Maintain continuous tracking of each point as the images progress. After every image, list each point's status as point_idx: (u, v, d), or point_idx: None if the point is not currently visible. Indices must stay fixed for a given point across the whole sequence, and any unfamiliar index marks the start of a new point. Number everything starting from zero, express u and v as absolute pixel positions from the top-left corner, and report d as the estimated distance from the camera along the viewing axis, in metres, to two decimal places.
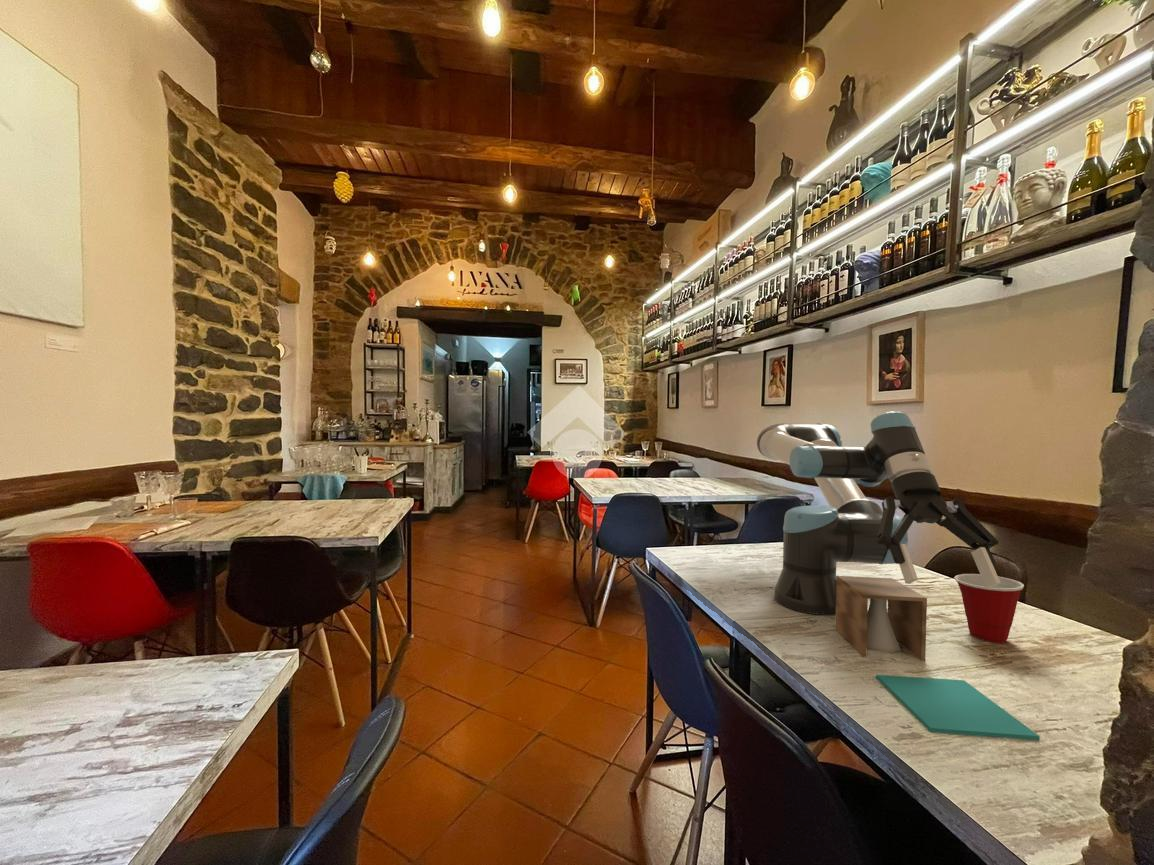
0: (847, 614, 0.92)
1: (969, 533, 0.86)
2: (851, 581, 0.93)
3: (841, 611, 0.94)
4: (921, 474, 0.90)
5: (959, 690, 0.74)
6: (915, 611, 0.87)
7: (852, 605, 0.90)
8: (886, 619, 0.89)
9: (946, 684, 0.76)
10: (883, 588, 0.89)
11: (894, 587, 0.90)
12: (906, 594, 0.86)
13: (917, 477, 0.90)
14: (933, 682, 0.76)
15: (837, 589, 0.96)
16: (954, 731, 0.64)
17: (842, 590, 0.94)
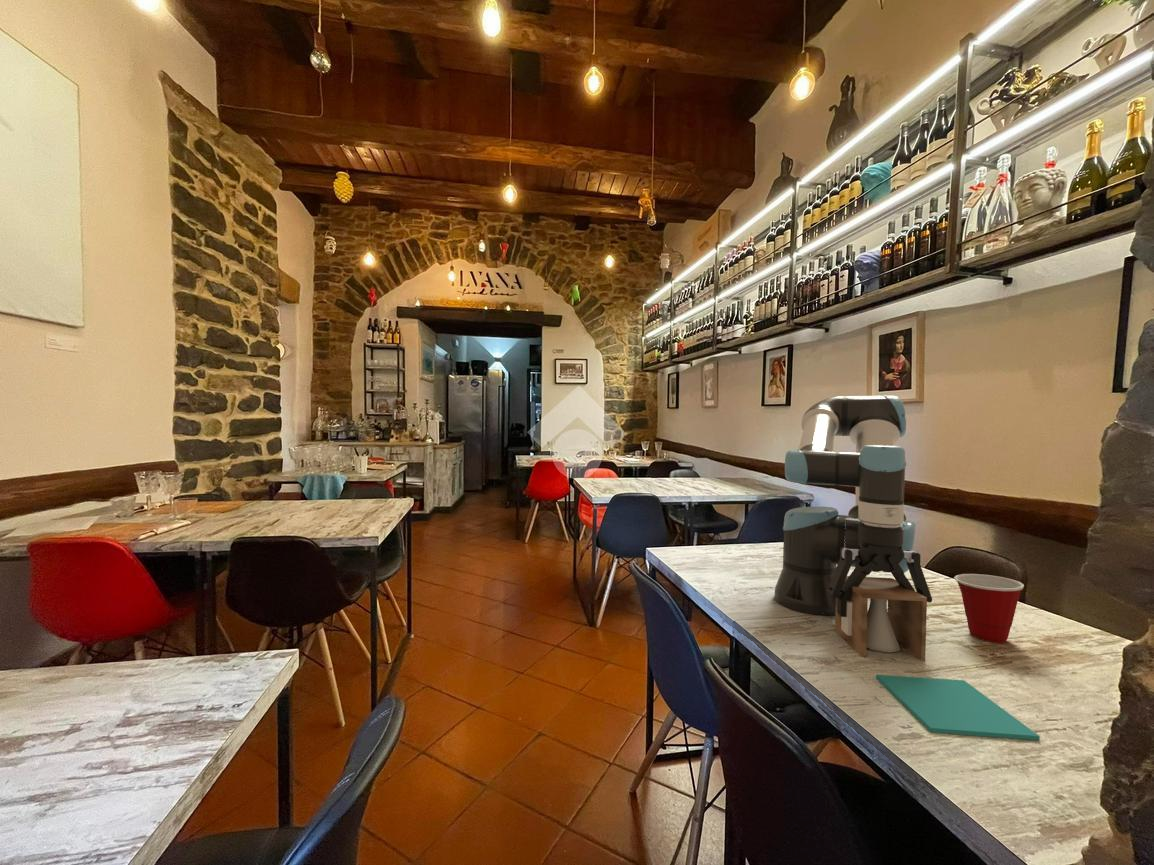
0: None
1: None
2: None
3: None
4: (888, 533, 0.87)
5: (959, 690, 0.74)
6: (914, 610, 0.87)
7: (852, 605, 0.90)
8: (886, 619, 0.89)
9: (946, 684, 0.76)
10: (883, 588, 0.89)
11: (894, 587, 0.90)
12: (906, 594, 0.86)
13: (883, 535, 0.87)
14: (933, 682, 0.76)
15: None
16: (954, 731, 0.64)
17: None
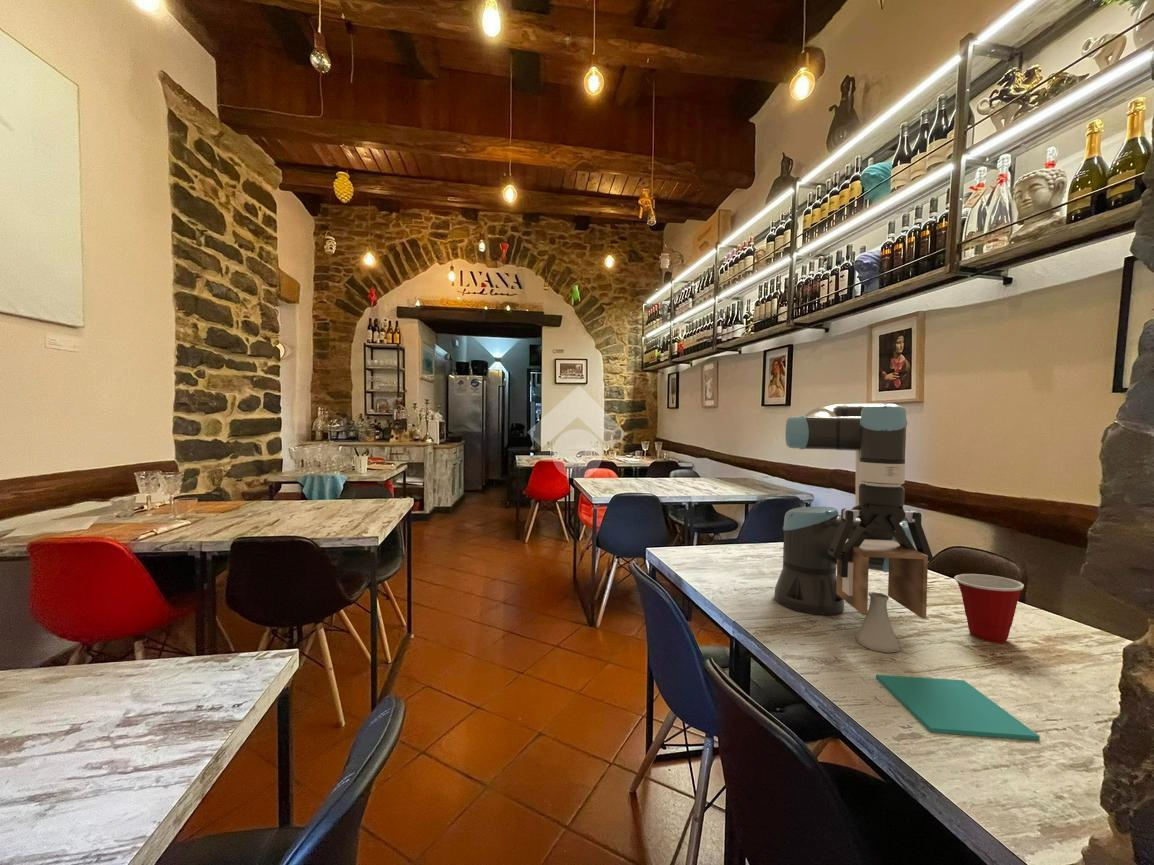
0: None
1: None
2: None
3: None
4: (889, 492, 0.87)
5: (959, 690, 0.74)
6: (916, 569, 0.87)
7: (853, 566, 0.90)
8: (886, 619, 0.89)
9: (946, 684, 0.76)
10: (884, 548, 0.89)
11: (895, 547, 0.90)
12: (907, 553, 0.86)
13: (884, 494, 0.87)
14: (933, 682, 0.76)
15: None
16: (954, 731, 0.64)
17: None
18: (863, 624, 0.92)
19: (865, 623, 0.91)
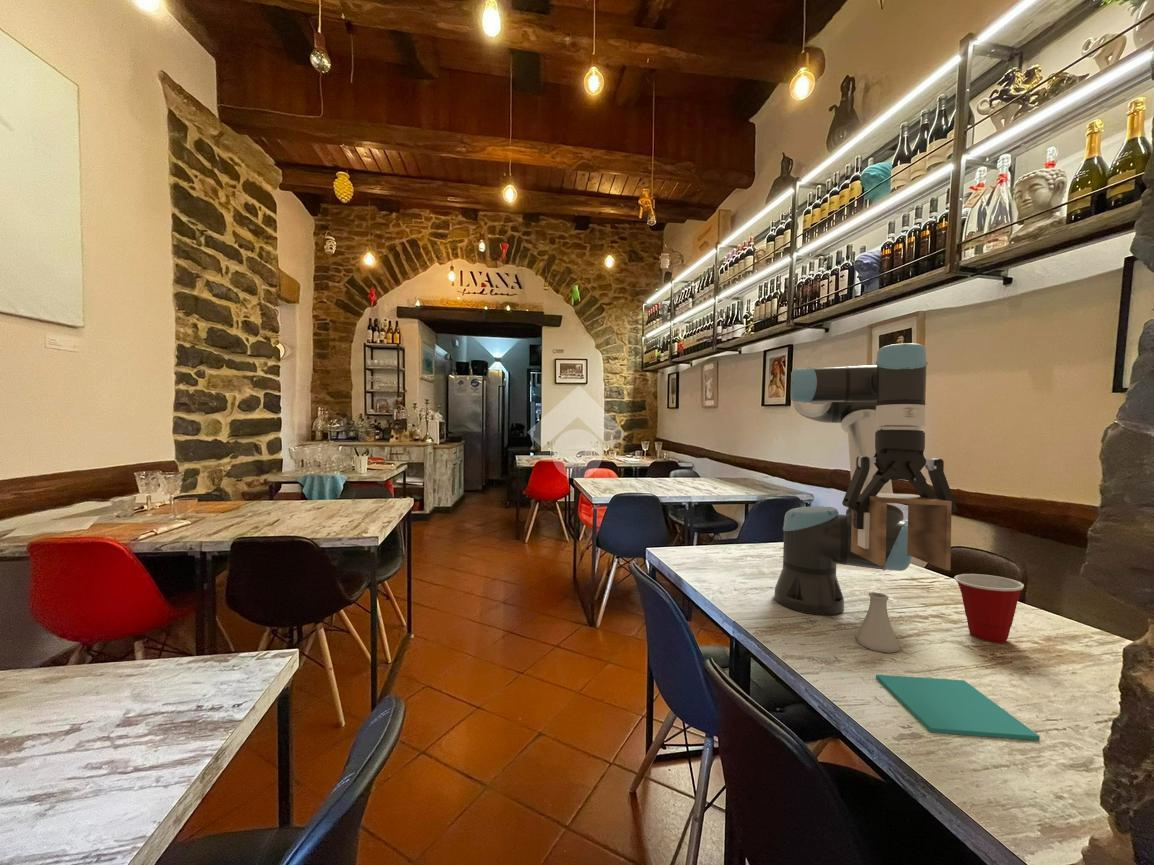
0: None
1: None
2: None
3: None
4: (908, 435, 0.81)
5: (959, 690, 0.74)
6: (938, 518, 0.80)
7: None
8: (886, 619, 0.89)
9: (946, 684, 0.76)
10: (903, 497, 0.83)
11: (915, 497, 0.83)
12: (928, 499, 0.80)
13: (903, 437, 0.81)
14: (933, 682, 0.76)
15: None
16: (954, 731, 0.64)
17: None
18: (863, 624, 0.92)
19: (865, 623, 0.91)
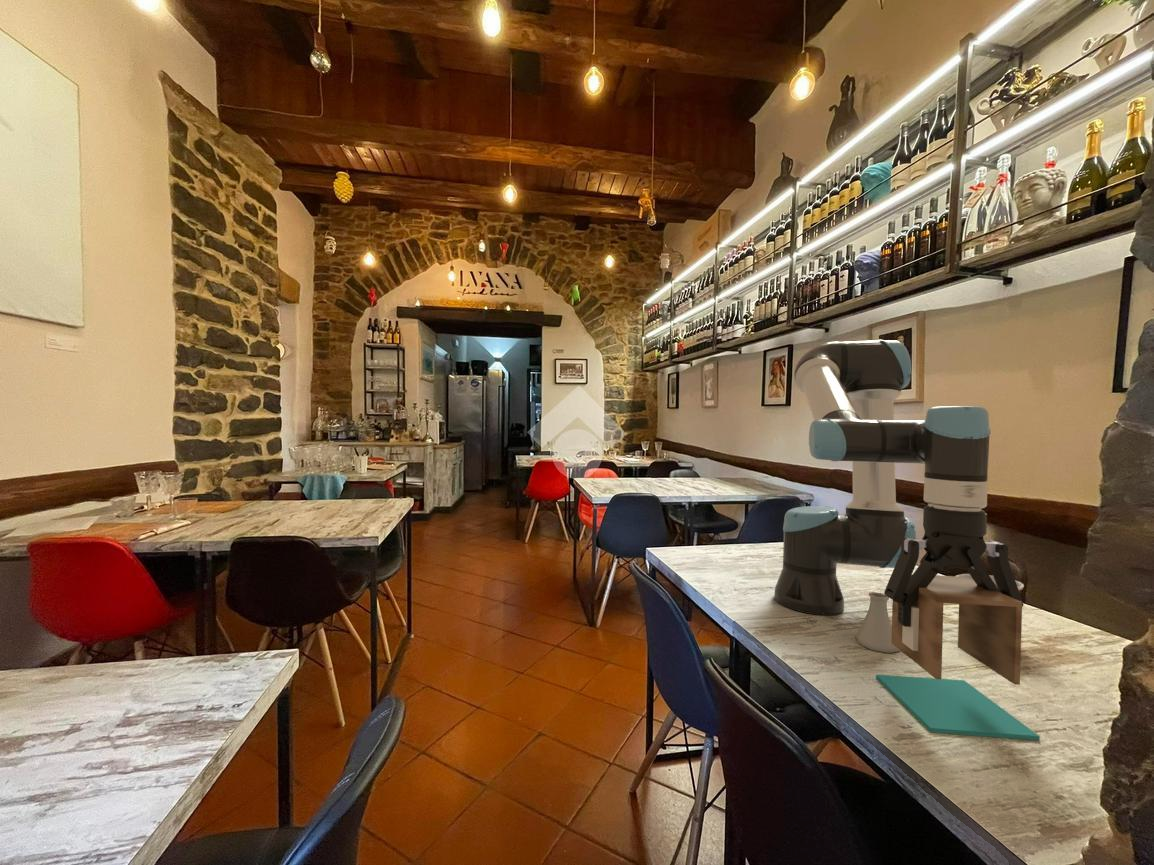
0: None
1: None
2: None
3: None
4: (968, 519, 0.67)
5: (959, 690, 0.74)
6: (1003, 619, 0.67)
7: (919, 612, 0.70)
8: (886, 619, 0.89)
9: (946, 684, 0.76)
10: (960, 589, 0.69)
11: (973, 588, 0.70)
12: (993, 597, 0.66)
13: (961, 521, 0.67)
14: (933, 682, 0.76)
15: None
16: (954, 731, 0.64)
17: None
18: (863, 624, 0.92)
19: (865, 623, 0.91)
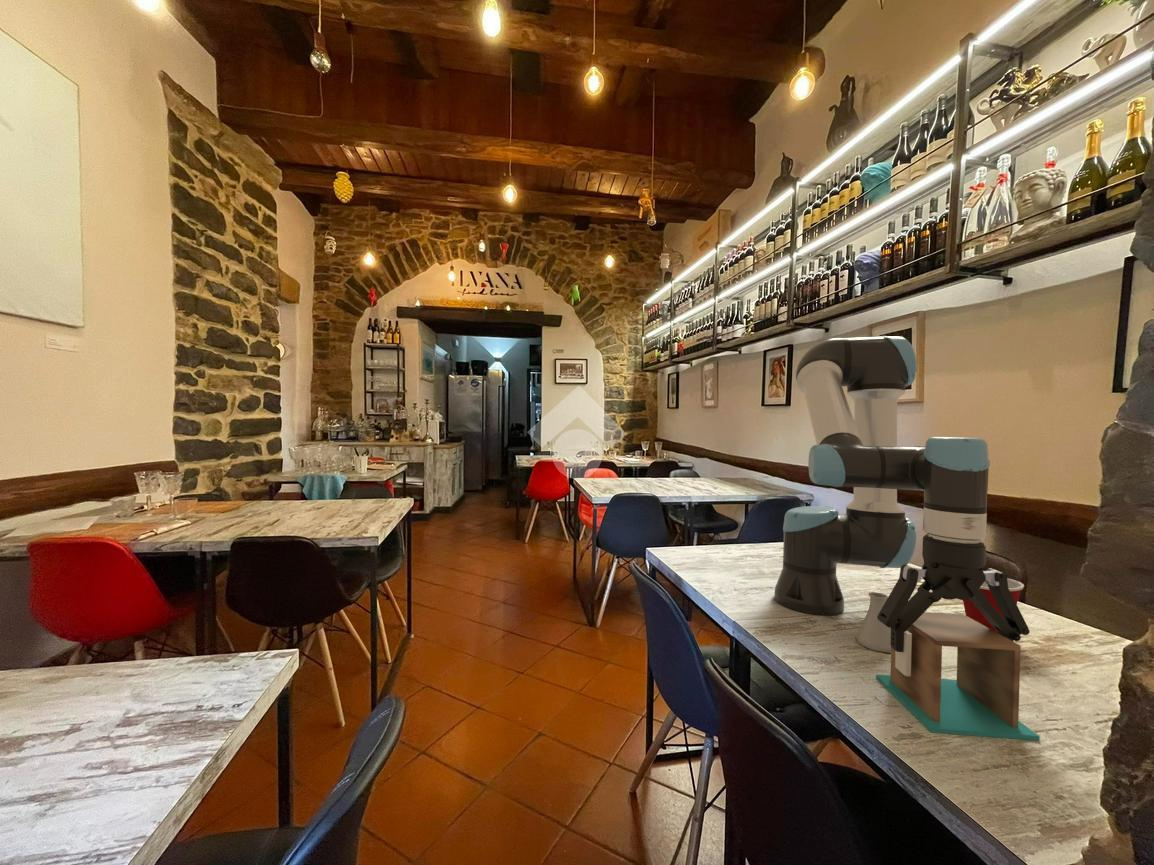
0: None
1: (998, 621, 0.69)
2: None
3: None
4: (968, 551, 0.67)
5: (959, 690, 0.74)
6: (1001, 661, 0.67)
7: (918, 652, 0.70)
8: None
9: (946, 684, 0.76)
10: (958, 630, 0.69)
11: (971, 629, 0.70)
12: (991, 640, 0.66)
13: (961, 553, 0.67)
14: None
15: None
16: (954, 731, 0.64)
17: None
18: (863, 624, 0.92)
19: (865, 623, 0.91)
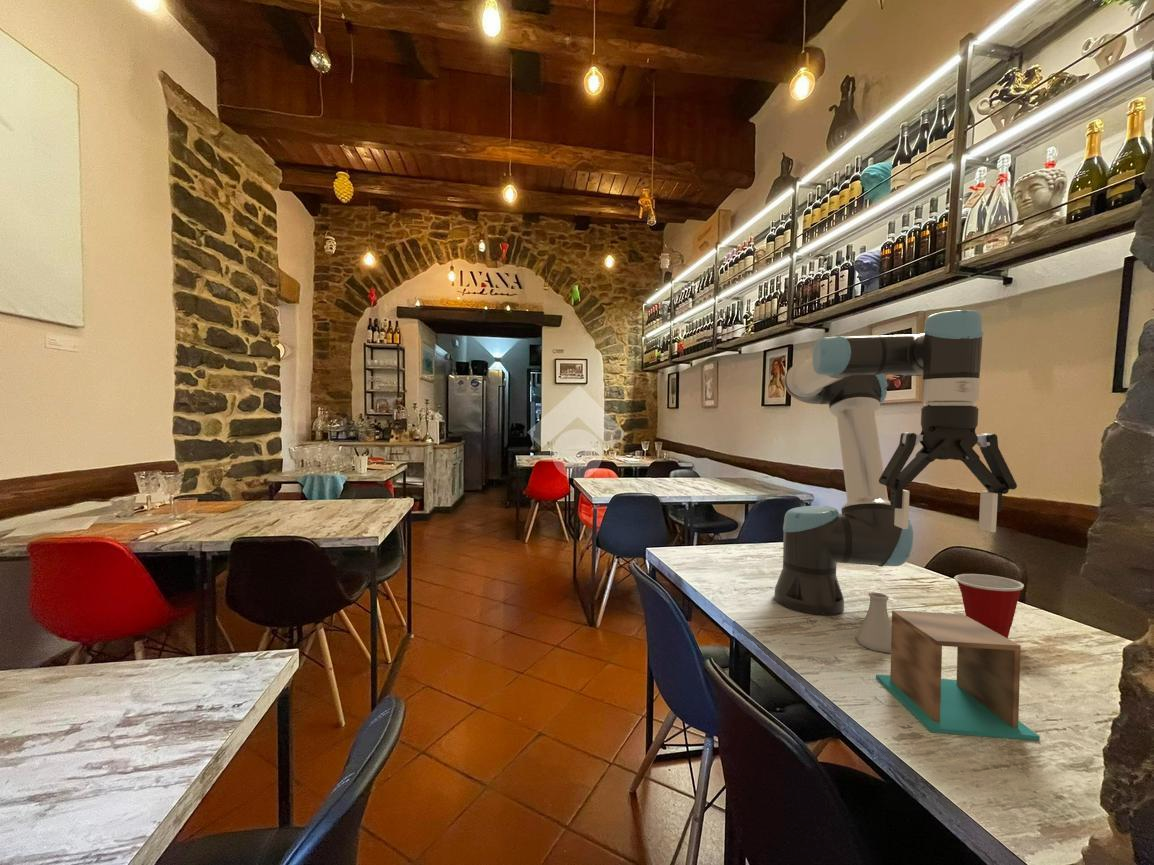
0: (910, 662, 0.72)
1: (988, 477, 0.77)
2: (914, 618, 0.73)
3: (900, 657, 0.74)
4: (961, 411, 0.74)
5: (959, 690, 0.74)
6: (1001, 661, 0.67)
7: (918, 652, 0.70)
8: (886, 619, 0.89)
9: (946, 684, 0.76)
10: (958, 630, 0.69)
11: (971, 629, 0.70)
12: (991, 640, 0.66)
13: (955, 414, 0.75)
14: None
15: (893, 627, 0.76)
16: (954, 731, 0.64)
17: (901, 630, 0.74)
18: (863, 624, 0.92)
19: (865, 623, 0.91)
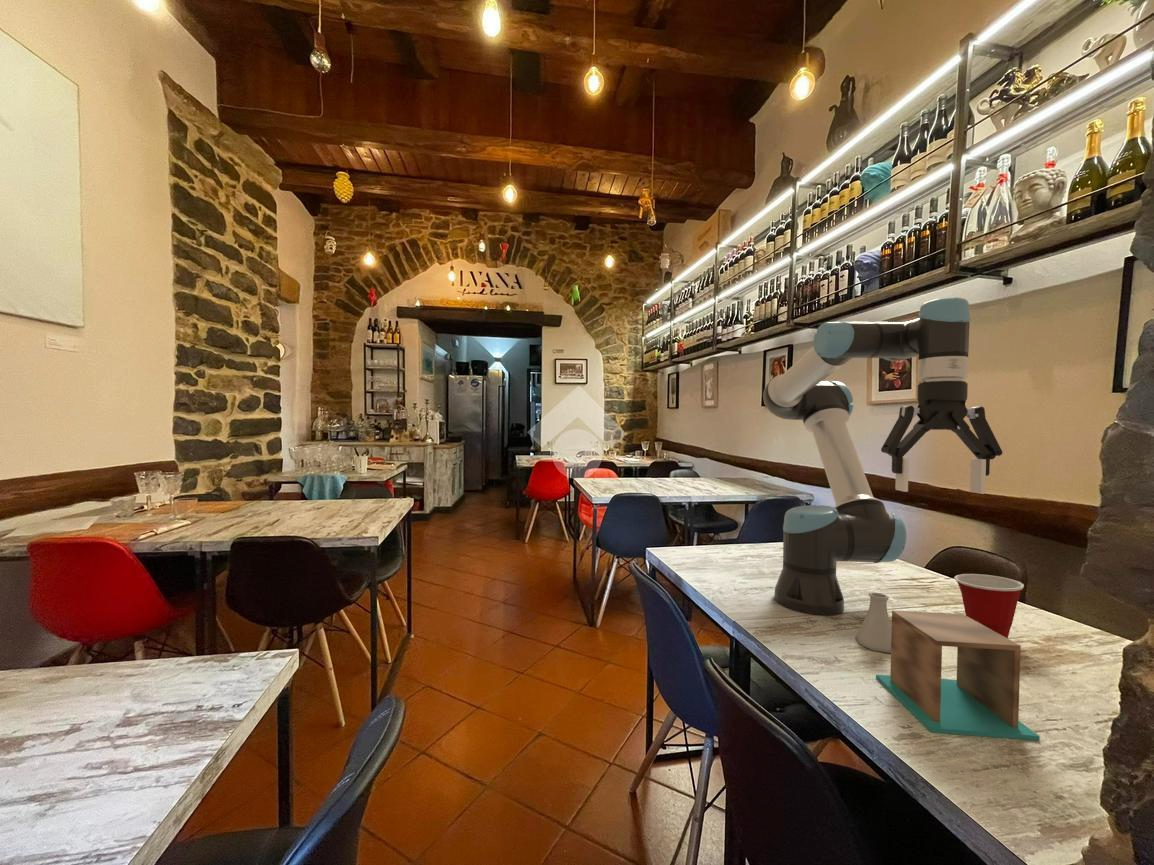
0: (910, 662, 0.72)
1: (977, 445, 0.86)
2: (914, 618, 0.73)
3: (900, 657, 0.74)
4: (953, 385, 0.84)
5: (959, 690, 0.74)
6: (1001, 661, 0.67)
7: (918, 652, 0.70)
8: (886, 619, 0.89)
9: (946, 684, 0.76)
10: (958, 630, 0.69)
11: (971, 629, 0.70)
12: (991, 640, 0.66)
13: (947, 388, 0.85)
14: None
15: (893, 627, 0.76)
16: (954, 731, 0.64)
17: (901, 630, 0.74)
18: (863, 624, 0.92)
19: (865, 623, 0.91)
